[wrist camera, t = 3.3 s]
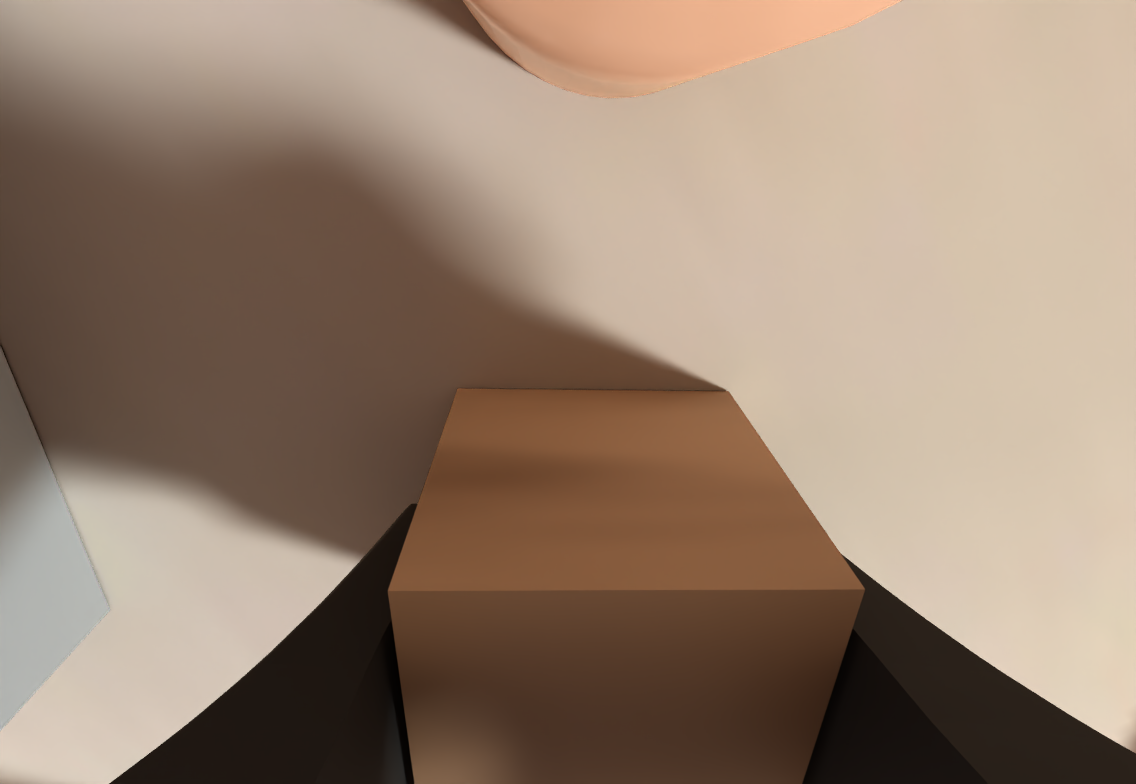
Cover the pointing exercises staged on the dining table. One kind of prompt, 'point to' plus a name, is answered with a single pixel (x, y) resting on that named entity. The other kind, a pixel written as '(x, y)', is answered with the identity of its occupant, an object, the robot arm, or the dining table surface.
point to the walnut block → (614, 596)
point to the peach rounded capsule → (653, 37)
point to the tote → (36, 562)
